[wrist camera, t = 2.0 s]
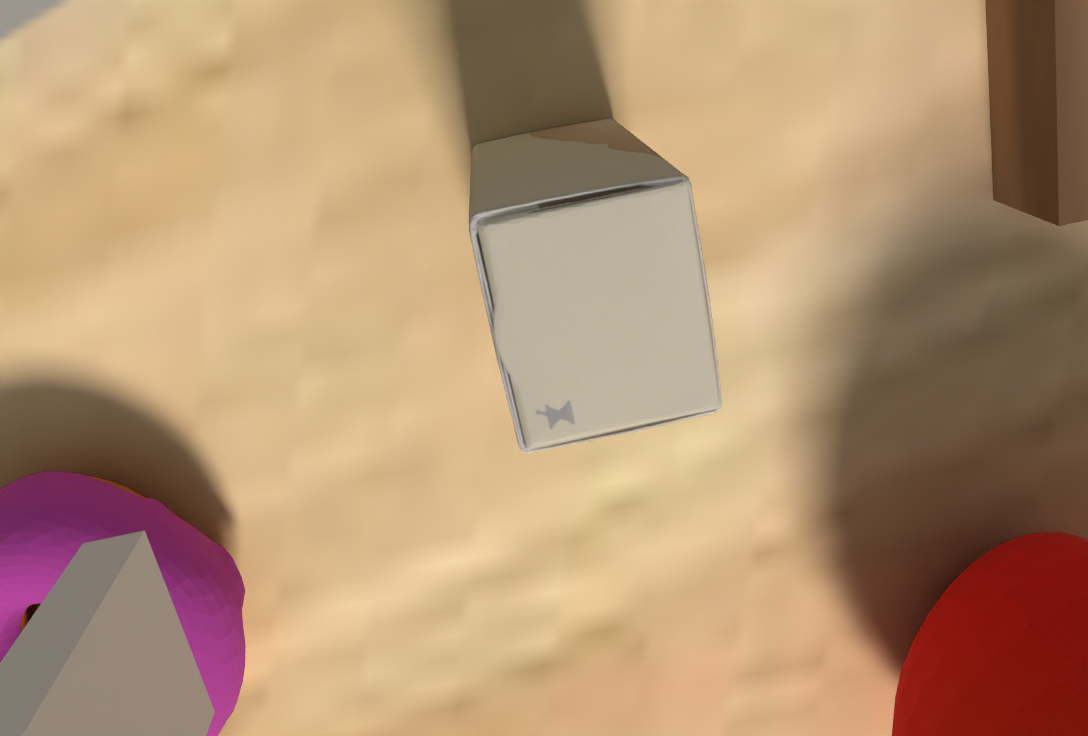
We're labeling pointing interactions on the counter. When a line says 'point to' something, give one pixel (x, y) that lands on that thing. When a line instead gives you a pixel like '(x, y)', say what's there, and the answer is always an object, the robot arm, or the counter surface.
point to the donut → (108, 511)
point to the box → (591, 284)
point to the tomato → (1004, 647)
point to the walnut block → (1039, 106)
